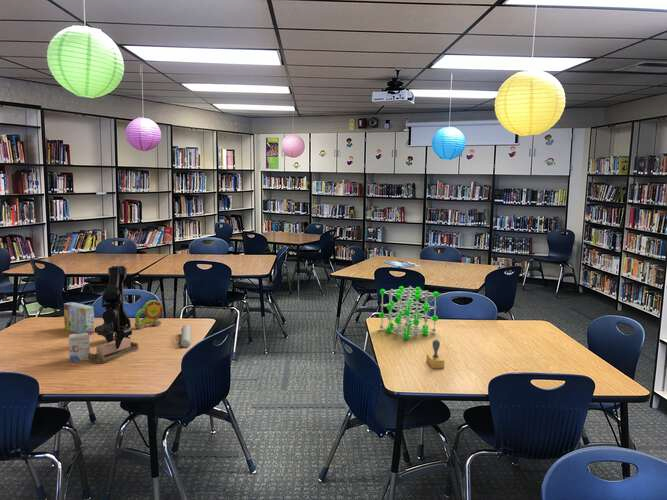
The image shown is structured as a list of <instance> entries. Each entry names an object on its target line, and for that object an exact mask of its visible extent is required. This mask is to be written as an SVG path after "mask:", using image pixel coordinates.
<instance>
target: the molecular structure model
mask: <svg viewBox="0 0 667 500" xmlns="http://www.w3.org/2000/svg"><path fill="white" fill-rule="evenodd" d="M379 294H380V295H381V303H380V304H379V305H380V307H381V312H380V313H378V317H379V318H380V319H381V321H380V322H381V324H380V326H379V328H380V330H385V331H386V333H388V334H390V333H394V334H395V335H396V336H398V335H399V336H402V338H403V339H404V340H406V341H407V340H409V339H410V337H417V336H418V335H423V336H428V334H429V333H432V332H433V333H435V332H436V331H437V330H436V322H437V321H438V320H439V317H438V316H437V315H436V313H437V312H436V310H437V305H436V303H437V298H438V297H439V296H440V293H439V292H438V291H434V292H429V290H423V289H421V287H420V286H416V287H415V288H414V287H412V286H411V285H409V286H408V287H404V286H403V285H401V286H399V287H398V289H393V288H391V289H390V290H385V288H380V290H379ZM385 294H386V295H388V299H389V302H388V303H385V304H384V295H385ZM429 294H430V295H429ZM393 297H395V299H396V300H397V302H395V301H394V300H393ZM429 297H433V298H434V306H431V305H430V304H429V302H428V298H429ZM422 298H425V302H423V303H421V302H420V299H422ZM402 299H403V300H402ZM414 300H415V301H414ZM384 307H386V309H387V310H388V313H384V309H383V308H384ZM414 308H415V309H414ZM393 310H395V311H396V312H393ZM430 310H434V311H433V312H434V315H432V316H429V315H428V314H427V313H428V312H429V311H430ZM421 311H423V312H424V314H423V313H421ZM411 313H412V314H411ZM393 316H394V317H393ZM384 318H386V319H387V320H388V325H386V326H384V325H383V324H384V323H383V322H384V321H383V320H384ZM423 318H424V319H423ZM393 321H394V322H393ZM403 321H405V322H403ZM428 321H433V328H432V329H431V328H429V325H428V324H427V323H428ZM422 322H424V324H423V325H420V323H422ZM418 327H420V328H418ZM396 330H397V331H396ZM414 331H415V332H414Z"/></svg>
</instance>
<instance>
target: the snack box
mask: <svg viewBox="0 0 667 500" xmlns="http://www.w3.org/2000/svg"><path fill="white" fill-rule="evenodd" d="M63 312H64V313H63V316H64V318H63V320H64V330H67V331H71V332H75V333H76V334H81V333H89V335H93V334H95V307H94V306H91V305H87V304H82V303H78V302H73V301H71V302H66V303H63Z"/></svg>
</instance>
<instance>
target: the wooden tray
mask: <svg viewBox="0 0 667 500" xmlns="http://www.w3.org/2000/svg"><path fill="white" fill-rule="evenodd" d="M130 342H131V347H128V348H125V349H122V350H119V351H116V352H113V353H110V354H107V355H104V356H102V355H97V352H95V353H91V352H90V353H89V354H88V357H89V359H88V362H93V363H97V364H103V365H104V364H106V363H108V362H111V361H113V360H116V359H118V358H121V357H124V356H127V355H129V354H131V353H133V352H136V351H138V350H139V343H138V342H134V341H130Z"/></svg>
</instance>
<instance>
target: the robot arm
mask: <svg viewBox="0 0 667 500" xmlns="http://www.w3.org/2000/svg"><path fill="white" fill-rule="evenodd" d="M107 269H108V270H107V271H108V272H107V274H108V276H109V278H108V279H109V280H108V285H107V287H106V288H104V293H102V295H101V296H102V299H101V300H102V301H101V308H105V309H104V311H103V313H102V316H101V318H102V320H103V323H102V324H100V325H97V326H95V327H94V334H96V335H98V336H102V337H103V338H105V340H106V341H105V342H106V343H109V342H112V341H115V343H116V349H118V348H119V347H120V344H121V342H122V340H123V338H129V339H131V336H132V335H133V330H132V329H131V327H132V325H131V323H132V322H131V320H130V318H129V316H128V312H127V311H126V310H125V301H124V298H125V297H124V281H125V279H126V278H127V277H126V275H127V274H128V268H127V267H125V265H111V266H110V267H108V268H107Z"/></svg>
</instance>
